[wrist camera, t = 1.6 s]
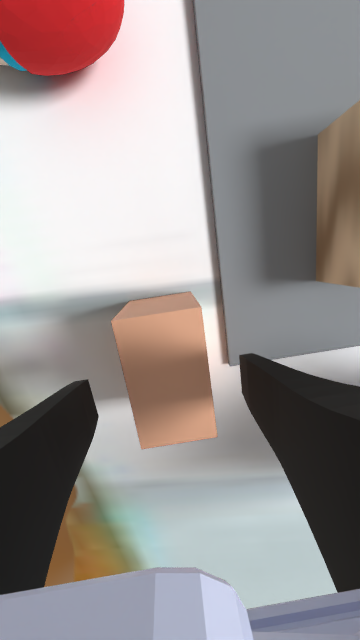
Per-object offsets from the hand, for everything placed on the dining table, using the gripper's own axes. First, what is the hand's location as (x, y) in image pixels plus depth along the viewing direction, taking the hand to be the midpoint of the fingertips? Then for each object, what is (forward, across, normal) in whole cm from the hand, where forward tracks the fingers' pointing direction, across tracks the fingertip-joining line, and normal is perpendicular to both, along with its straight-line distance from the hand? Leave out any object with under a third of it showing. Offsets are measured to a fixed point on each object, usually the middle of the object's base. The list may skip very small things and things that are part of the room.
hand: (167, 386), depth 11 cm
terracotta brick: (+5, 0, 0) cm, 5 cm away
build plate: (+5, -12, -8) cm, 15 cm away
